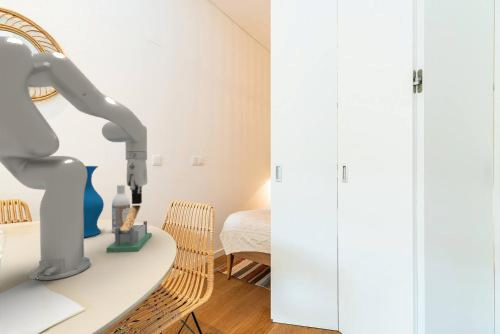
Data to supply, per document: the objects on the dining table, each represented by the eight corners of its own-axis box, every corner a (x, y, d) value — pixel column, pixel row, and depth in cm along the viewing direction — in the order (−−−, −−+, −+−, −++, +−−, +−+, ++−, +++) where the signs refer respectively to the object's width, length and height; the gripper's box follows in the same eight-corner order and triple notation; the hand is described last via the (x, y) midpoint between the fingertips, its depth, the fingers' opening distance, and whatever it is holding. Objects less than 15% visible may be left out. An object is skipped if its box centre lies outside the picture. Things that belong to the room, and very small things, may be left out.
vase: (110, 231, 103) (110, 166, 102) (84, 240, 91) (83, 166, 90) (88, 229, 106) (87, 165, 105) (59, 238, 94) (58, 166, 93)
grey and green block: (138, 251, 81) (138, 229, 81) (106, 252, 80) (106, 230, 80) (151, 236, 97) (151, 217, 97) (125, 237, 96) (125, 218, 95)
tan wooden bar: (129, 234, 82) (129, 232, 82) (119, 235, 82) (118, 232, 81) (141, 207, 94) (140, 204, 93) (132, 207, 94) (131, 205, 93)
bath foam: (119, 234, 99) (119, 185, 99) (108, 232, 102) (107, 185, 102) (133, 229, 106) (133, 184, 105) (122, 227, 108) (122, 183, 108)
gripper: (140, 156, 86) (140, 207, 87) (152, 156, 101) (152, 200, 102) (118, 156, 85) (118, 207, 86) (133, 156, 100) (133, 200, 101)
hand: (136, 203), depth 94 cm, fingers closed
